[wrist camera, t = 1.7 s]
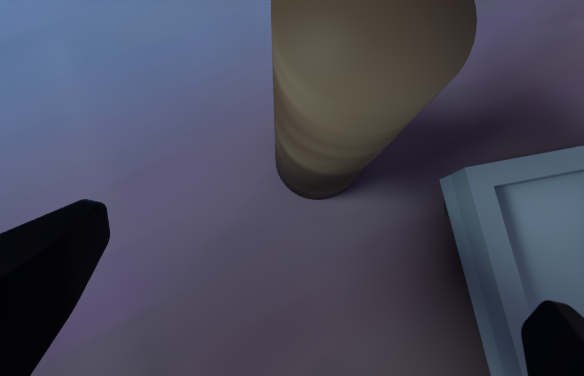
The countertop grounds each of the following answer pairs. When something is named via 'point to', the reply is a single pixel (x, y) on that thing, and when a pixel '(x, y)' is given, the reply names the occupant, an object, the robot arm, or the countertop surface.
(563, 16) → the countertop surface
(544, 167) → the tray
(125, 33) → the countertop surface
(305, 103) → the walnut spindle
